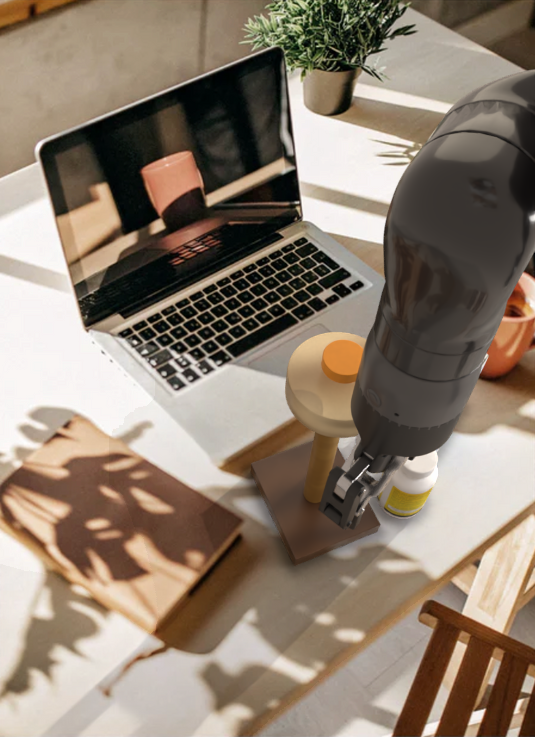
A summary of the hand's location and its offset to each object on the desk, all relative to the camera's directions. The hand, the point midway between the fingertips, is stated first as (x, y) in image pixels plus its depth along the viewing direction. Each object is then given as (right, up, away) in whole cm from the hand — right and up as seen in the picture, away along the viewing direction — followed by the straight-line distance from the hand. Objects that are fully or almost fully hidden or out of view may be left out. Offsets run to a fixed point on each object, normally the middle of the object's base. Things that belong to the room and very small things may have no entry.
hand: (375, 484), depth 61 cm
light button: (-3, +10, -2) cm, 11 cm away
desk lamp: (-4, -5, +19) cm, 20 cm away
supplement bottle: (+6, -5, +20) cm, 21 cm away
